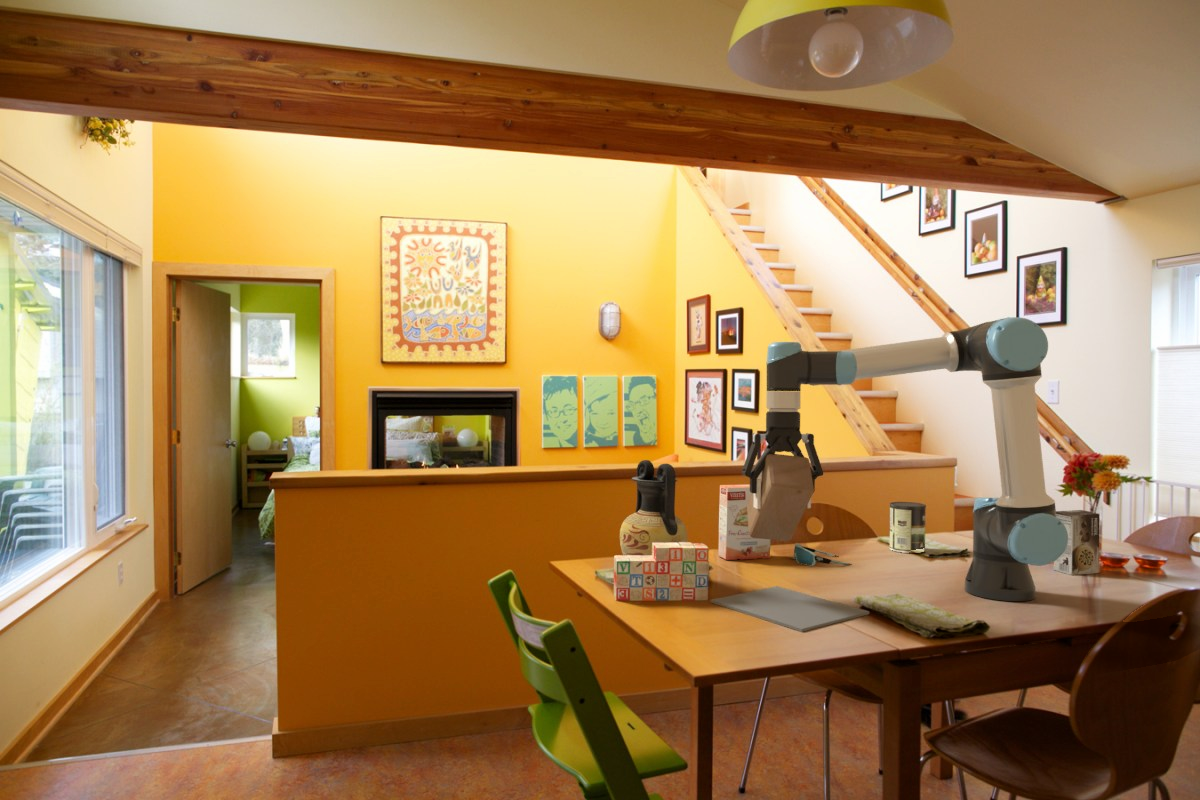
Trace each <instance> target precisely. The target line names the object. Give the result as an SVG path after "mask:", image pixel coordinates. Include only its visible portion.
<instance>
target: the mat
mask: <svg viewBox="0 0 1200 800" xmlns="http://www.w3.org/2000/svg"><path fill="white" fill-rule="evenodd" d="M710 603H712V604H715V605H718V606H720V607H724V608H727V609H730V610H733V611H736V612H739V613H742V614H746V615H748V616H752V617H754V618H757V619H760V620H764V621H766V620H767V622H770V623H773V624H776V625H779V626H783V627H785V626H786V627H785V628H788V627H789V629H791V628H792V629H791V630H794V629H795V631H798V632H801V633H802V632H803V633H804V632H806V631H807V632H808V631H811V630H815V629H818V628H822V627H826V626H829V625H833V624H837V623H840V622H845V621H849V620H851V619H856V618H860V617H864V616H868V615H870V611H869V610H866V609H862V608H859V607H855V606H850V605H847V604H843V603H840V602H838V601H837V602H836V601H832V600H830V599H829V600H828V599H825V598H822V597H818V596H814V595H810V594H807V593H805V592H804V593H803V592H799V591H797V590H792V589H788V588H785V587H782V586H779V585H775V586H772V587H766V588H763V589H762V588H761V589H756V590H752V591H747V592H742V593H737V594H733V595H728V596H727V595H726V596H722V597H719V598H712V599H710Z"/></svg>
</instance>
